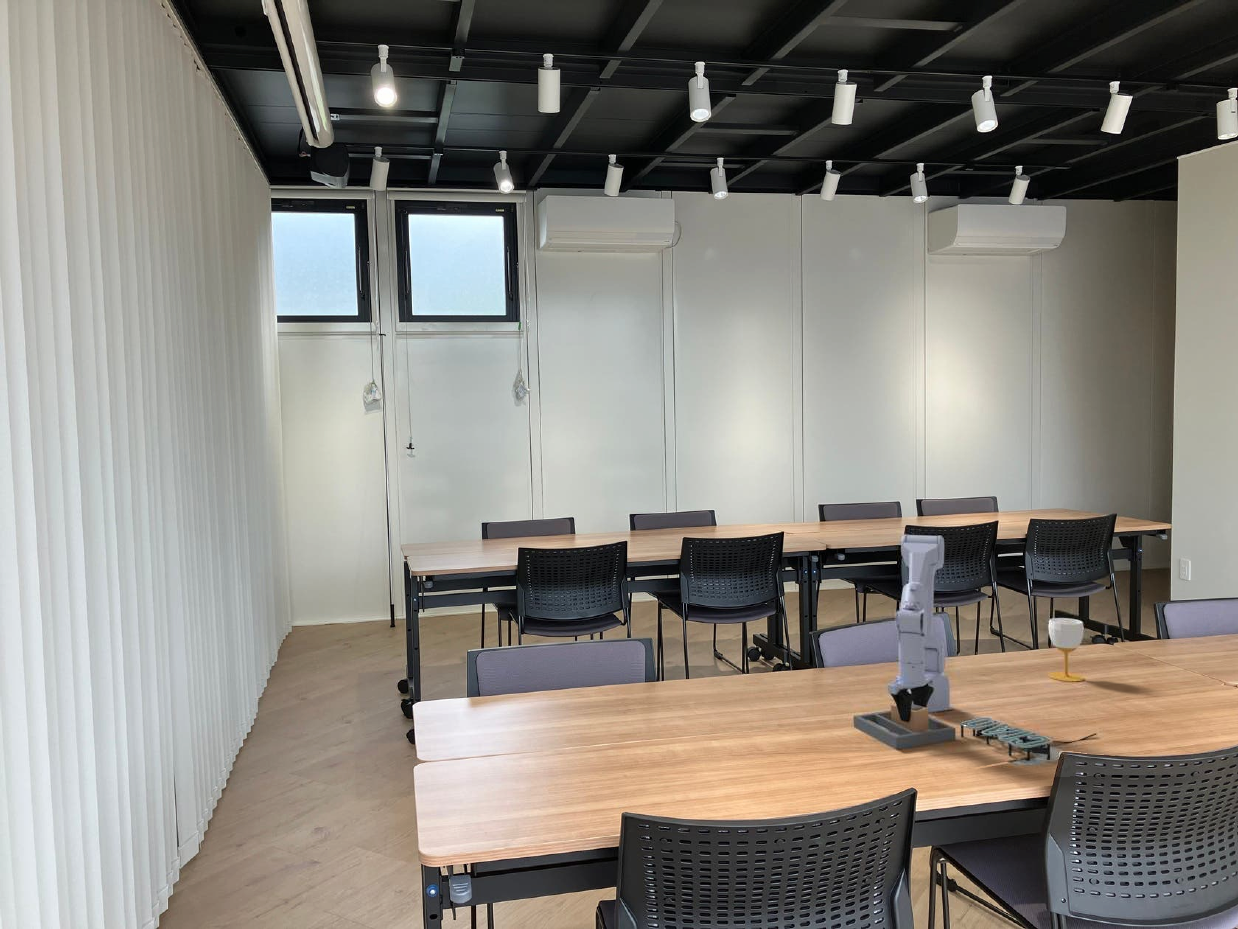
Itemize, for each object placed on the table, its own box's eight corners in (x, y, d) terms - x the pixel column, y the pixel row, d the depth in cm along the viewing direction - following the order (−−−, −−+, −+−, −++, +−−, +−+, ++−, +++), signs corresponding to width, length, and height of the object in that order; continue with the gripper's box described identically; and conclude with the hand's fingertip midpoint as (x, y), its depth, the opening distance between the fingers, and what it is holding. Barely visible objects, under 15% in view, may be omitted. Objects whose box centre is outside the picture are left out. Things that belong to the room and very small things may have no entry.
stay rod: (866, 729, 201) (862, 723, 201) (872, 724, 201) (868, 718, 201) (898, 747, 190) (894, 739, 189) (904, 741, 190) (901, 734, 190)
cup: (1090, 681, 235) (1090, 624, 235) (1058, 682, 235) (1057, 624, 235) (1073, 672, 244) (1073, 617, 244) (1042, 673, 245) (1041, 618, 244)
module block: (903, 722, 203) (903, 700, 203) (928, 730, 197) (928, 707, 197) (891, 725, 200) (890, 703, 200) (916, 734, 194) (915, 711, 194)
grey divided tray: (909, 719, 207) (909, 707, 207) (955, 741, 192) (955, 728, 192) (853, 728, 202) (853, 715, 202) (896, 751, 187) (896, 737, 187)
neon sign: (1119, 728, 188) (1024, 750, 176) (1119, 747, 188) (1024, 770, 176) (1037, 702, 207) (946, 720, 195) (1037, 719, 208) (946, 738, 195)
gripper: (917, 652, 205) (917, 708, 205) (876, 662, 197) (877, 720, 197) (942, 658, 199) (943, 716, 199) (901, 669, 191) (902, 728, 191)
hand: (912, 718), depth 198 cm, fingers closed on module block, 4 cm apart
